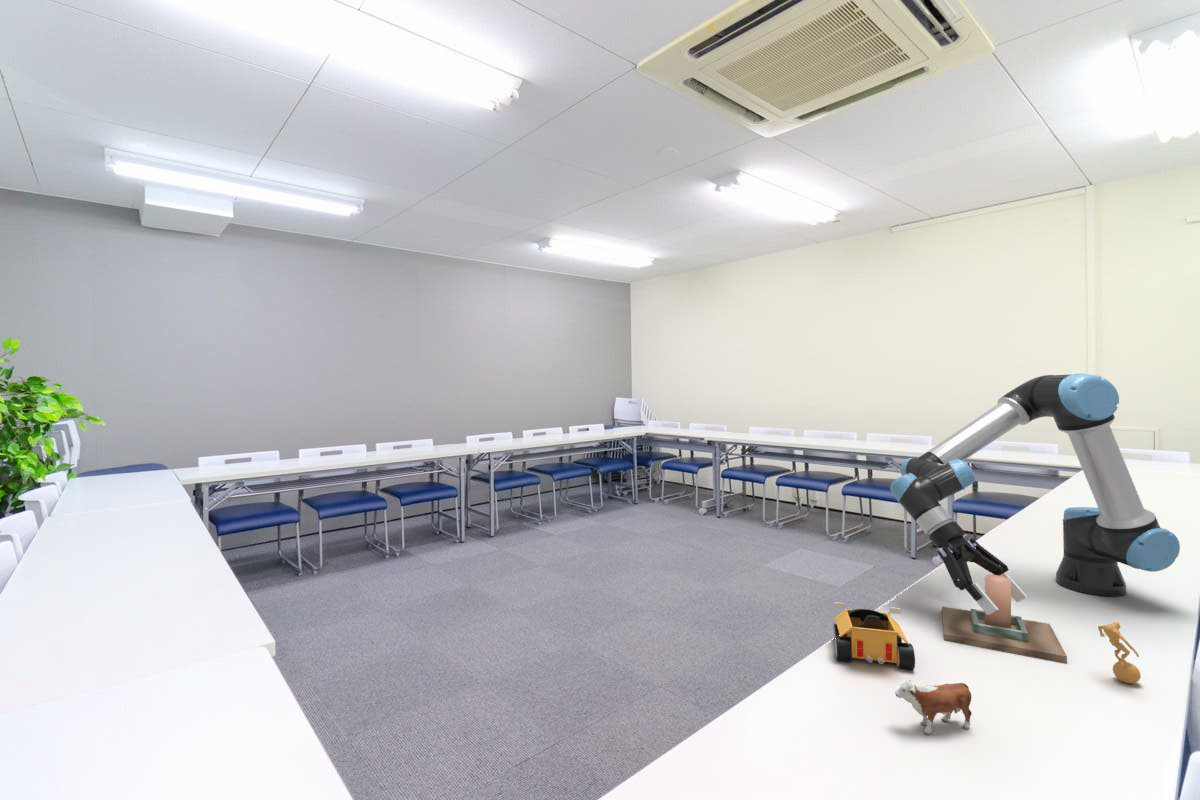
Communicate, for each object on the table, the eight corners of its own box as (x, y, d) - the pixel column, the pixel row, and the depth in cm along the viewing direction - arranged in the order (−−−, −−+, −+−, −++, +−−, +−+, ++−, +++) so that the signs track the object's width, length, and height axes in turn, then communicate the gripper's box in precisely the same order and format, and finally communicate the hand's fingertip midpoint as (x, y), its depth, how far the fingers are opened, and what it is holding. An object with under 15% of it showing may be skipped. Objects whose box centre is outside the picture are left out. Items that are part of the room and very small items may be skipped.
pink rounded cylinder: (1009, 626, 128) (1009, 577, 128) (1012, 635, 124) (1012, 583, 124) (983, 622, 131) (984, 573, 131) (985, 630, 127) (986, 580, 126)
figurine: (1156, 694, 102) (1157, 632, 102) (1122, 693, 103) (1122, 631, 103) (1118, 671, 111) (1119, 613, 110) (1087, 670, 111) (1087, 613, 111)
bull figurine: (891, 721, 96) (891, 676, 96) (962, 716, 97) (961, 671, 97) (907, 737, 91) (907, 690, 91) (981, 731, 92) (981, 685, 92)
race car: (900, 644, 124) (900, 599, 124) (917, 677, 110) (916, 627, 110) (830, 636, 129) (830, 592, 129) (838, 667, 115) (837, 618, 114)
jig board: (1049, 629, 129) (1049, 615, 129) (1067, 663, 114) (1067, 647, 114) (941, 611, 141) (941, 598, 141) (944, 640, 125) (944, 625, 125)
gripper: (956, 529, 147) (1020, 601, 134) (901, 543, 134) (967, 625, 122) (977, 513, 142) (1046, 587, 129) (923, 527, 130) (993, 610, 117)
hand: (1008, 606), depth 125 cm, fingers open, 13 cm apart
